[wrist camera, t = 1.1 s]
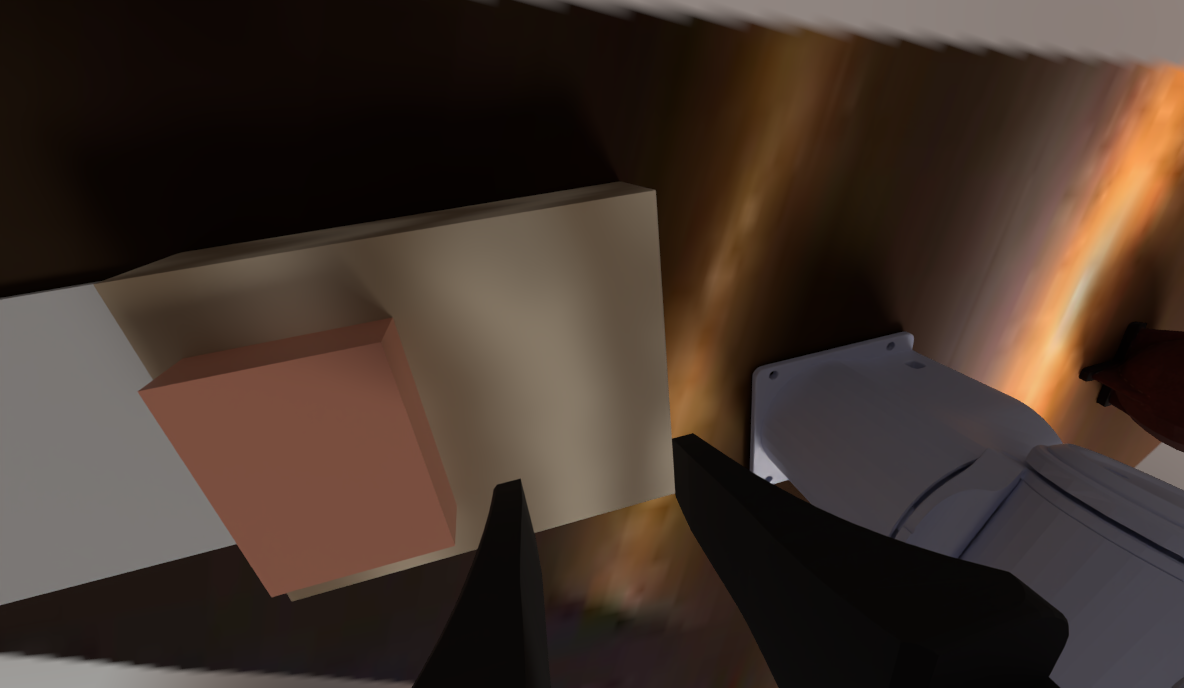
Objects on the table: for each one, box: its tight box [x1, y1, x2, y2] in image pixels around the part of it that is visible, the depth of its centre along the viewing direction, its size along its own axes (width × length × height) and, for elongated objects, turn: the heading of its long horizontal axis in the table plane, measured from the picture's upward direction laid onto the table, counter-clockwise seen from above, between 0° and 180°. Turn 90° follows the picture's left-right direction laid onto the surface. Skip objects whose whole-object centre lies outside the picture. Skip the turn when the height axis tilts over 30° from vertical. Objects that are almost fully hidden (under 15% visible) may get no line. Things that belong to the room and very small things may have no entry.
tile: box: [137, 317, 457, 597], centre depth 15 cm, size 6×8×2 cm
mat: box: [0, 281, 237, 605], centre depth 17 cm, size 14×12×1 cm
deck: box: [93, 181, 675, 601], centre depth 18 cm, size 16×13×4 cm
